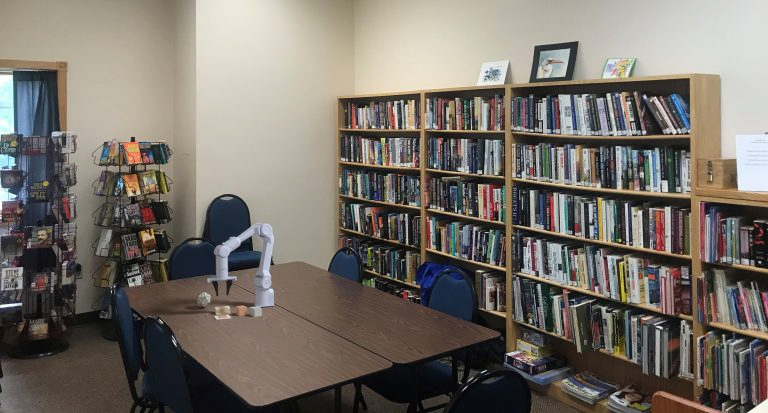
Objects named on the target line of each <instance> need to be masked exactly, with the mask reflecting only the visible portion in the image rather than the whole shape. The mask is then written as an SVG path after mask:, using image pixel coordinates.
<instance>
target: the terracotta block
mask: <svg viewBox="0 0 768 413" xmlns="http://www.w3.org/2000/svg"><path fill="white" fill-rule="evenodd" d="M235 314H236V315H237V316H239V317H241V316H247V315H248V307H247V306H245V305H235Z"/></svg>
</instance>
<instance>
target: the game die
mask: <svg viewBox="0 0 768 413" xmlns="http://www.w3.org/2000/svg"><path fill="white" fill-rule="evenodd" d="M212 296H213V294H210V293H208V292H205V291H202V292H201V293H199V294H198V293H197V295H196V302H195V304H196V305H197V304H198V305H200V306H201V307H203V308H204V309H205V308H206V307H207V306H208V305H211V303H212Z"/></svg>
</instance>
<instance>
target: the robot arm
mask: <svg viewBox="0 0 768 413" xmlns="http://www.w3.org/2000/svg"><path fill="white" fill-rule="evenodd" d="M273 229H274V228H273V227H272V226H271V224H269V223H264V222H263V223H262V222H255V224H252V225H251V226H250V227H249V228H247V229H246V230H245V231H243V232H241V233H240V234H239V235H238V236H237V237H236V236H230V237H229V238H228V239H227V240H226V241H225V242H224V241H223V242H222V243H221V244H218V245H217V246H216V247H214V250H213V253H214V254H213V255H215V272H216V273H215V275H216V276H214V277H207V278H206V282H207V283H211V284H212V286H213V289H214V291H215V295H216V297H219V282H225V284H226V286H225V287H226V296H229V295H230V290H231V288H232V285H233V281H238V277H237V276H229V265H228V262H229V261H228V260H229V259H228V256H230V253H232V252H233V251H235V250H236V249H237V248H239V247H240V246H241V244H242V242H243V241H246V240H247V239H249V238H250V237H252V236H259V237H260V239H261V240H262V241H263V242H262V249H261V255H260V260H259V266H258V270H257V271H256V273H255V276H254V277H253V281H252V284H253V286H255V287H254V289H255V290H254V291H255V303H253V306H254V307H256V306H257V307H261V308H262V307H263V308H265V307H274V306H275V294H274V293H275V292H274V289H273V288H271V286H272V275H271V273H270V267H271V260H272V255H273V248H274V245H275V236H274V232H273Z"/></svg>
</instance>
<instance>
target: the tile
mask: <svg viewBox="0 0 768 413" xmlns="http://www.w3.org/2000/svg"><path fill="white" fill-rule="evenodd" d="M213 317H214V318H215V320H216V321H217V320H227V319H228V320H229V319H232V316H230V314H220V315H214V316H213Z"/></svg>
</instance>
